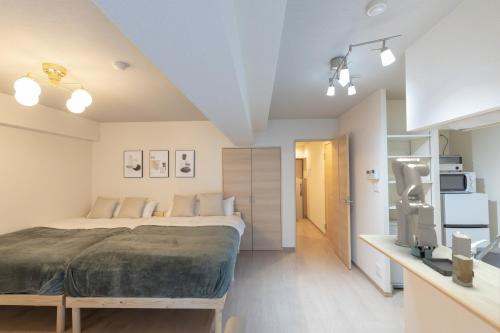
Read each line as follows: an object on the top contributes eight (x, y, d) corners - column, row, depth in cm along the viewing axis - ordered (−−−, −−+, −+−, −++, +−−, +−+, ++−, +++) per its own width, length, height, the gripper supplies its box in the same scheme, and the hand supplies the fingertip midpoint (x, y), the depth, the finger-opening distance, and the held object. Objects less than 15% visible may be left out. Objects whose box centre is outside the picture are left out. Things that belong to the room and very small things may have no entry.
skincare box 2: (451, 280, 116) (451, 254, 116) (460, 280, 117) (460, 254, 117) (464, 287, 110) (464, 259, 110) (473, 286, 110) (473, 259, 110)
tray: (422, 262, 139) (422, 257, 139) (448, 262, 137) (448, 258, 138) (444, 275, 121) (444, 270, 121) (474, 276, 120) (473, 271, 120)
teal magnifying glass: (409, 251, 154) (409, 243, 154) (422, 252, 153) (422, 243, 153) (421, 259, 141) (421, 250, 141) (436, 260, 140) (436, 250, 140)
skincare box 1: (451, 260, 142) (451, 232, 142) (466, 261, 139) (466, 234, 139) (456, 265, 134) (455, 236, 134) (472, 267, 131) (471, 237, 131)
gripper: (436, 224, 146) (436, 255, 146) (407, 224, 147) (407, 255, 148) (445, 228, 138) (445, 260, 139) (414, 227, 140) (415, 260, 140)
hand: (426, 257), depth 143 cm, fingers closed on teal magnifying glass, 3 cm apart
